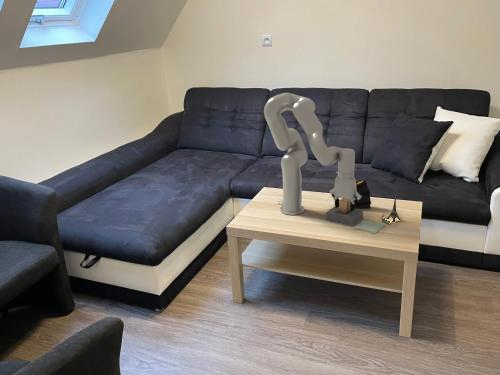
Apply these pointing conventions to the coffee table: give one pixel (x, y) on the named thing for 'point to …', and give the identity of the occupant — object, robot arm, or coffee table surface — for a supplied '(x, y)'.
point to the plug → (344, 206)
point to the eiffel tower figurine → (391, 215)
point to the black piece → (364, 192)
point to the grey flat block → (344, 216)
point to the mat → (369, 226)
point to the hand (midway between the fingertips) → (344, 208)
